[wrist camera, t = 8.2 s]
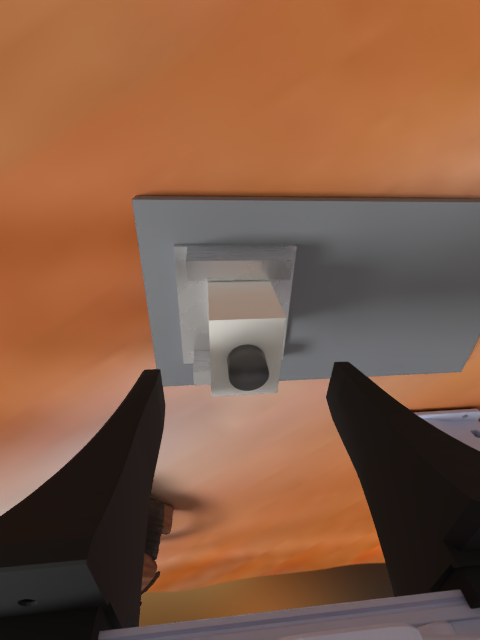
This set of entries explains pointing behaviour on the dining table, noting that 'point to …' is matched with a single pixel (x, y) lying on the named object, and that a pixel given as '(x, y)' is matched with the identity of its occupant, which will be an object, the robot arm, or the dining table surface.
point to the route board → (333, 277)
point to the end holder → (223, 265)
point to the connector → (244, 337)
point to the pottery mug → (154, 540)
